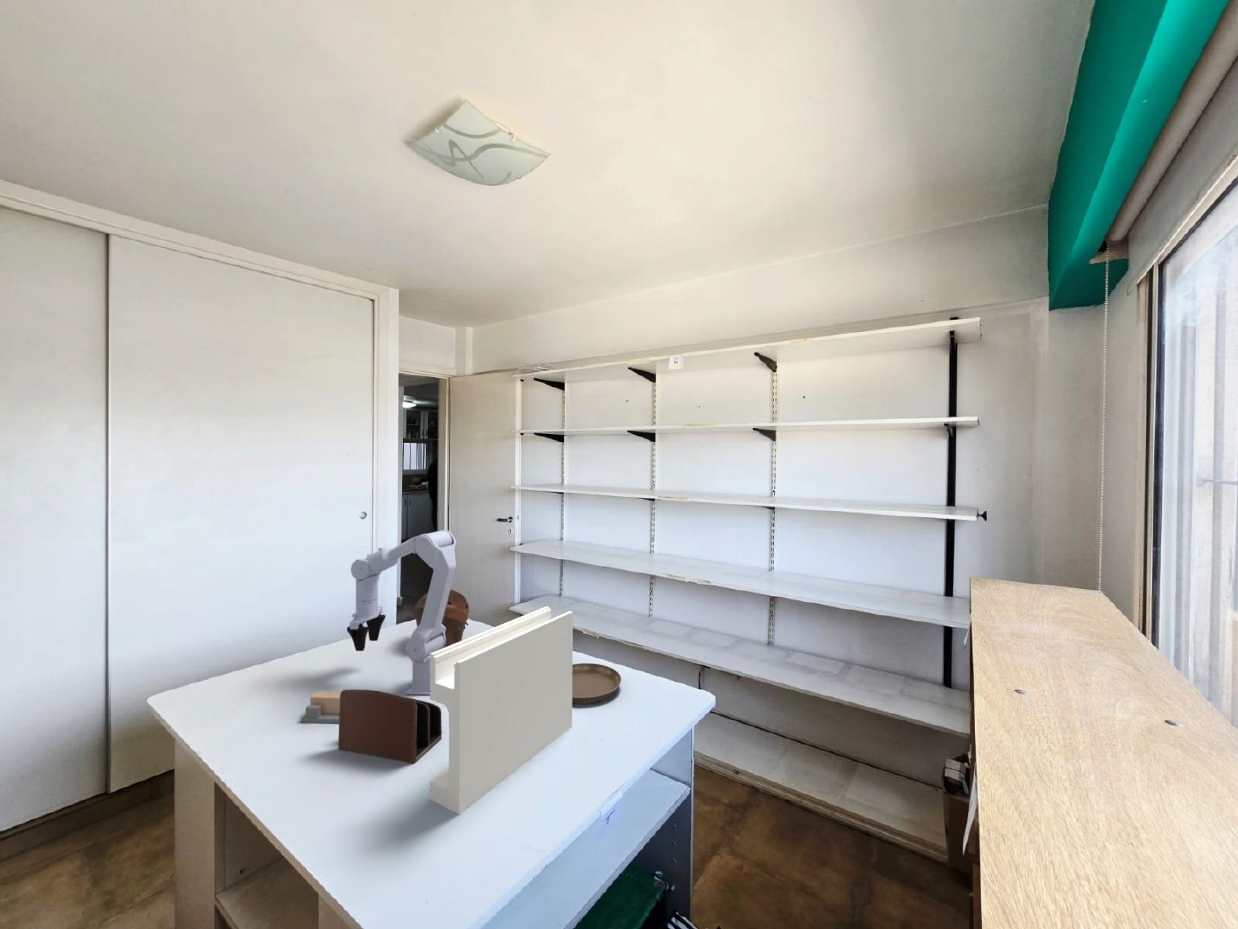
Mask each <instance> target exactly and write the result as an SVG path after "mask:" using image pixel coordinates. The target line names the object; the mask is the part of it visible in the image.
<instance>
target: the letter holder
mask: <svg viewBox="0 0 1238 929" xmlns="http://www.w3.org/2000/svg"><path fill="white" fill-rule="evenodd" d="M340 692H341V694H340V711H339V723H338V740H337V742H338V743H337V746H338V748H337V749H338V750H341V751H342V750H343V751H348V752H353V753H359V754H363V755H368V756H374V757H379V758H384V759H389V760H394V761H399V762H405V763H410V764H412V765H414V764H416V763H417V762H418V761H419V760H420V759H422V757H424V756H425V755H426V754H427V753H428V752H429V751H430V750H432V748H433V747H435V746H436V745H437V744H438V743H439V742H440V741H441V740H442V739H443V738H442V733H443V730H442V727H443V726H442V710H441V709H442V708H440V706H438V705H436V704H434V703H433V702H432V703H431V702H428V701H425V700H420V699H416V698H412V697H411V698H410V697H404V696H401V695H398V694H394V693H390V692H385V691H381V690H380V691H379V690H373V689H355V688H354V689H342V691H340Z"/></svg>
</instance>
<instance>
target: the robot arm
mask: <svg viewBox="0 0 1238 929" xmlns="http://www.w3.org/2000/svg"><path fill="white" fill-rule="evenodd" d="M457 543H458V542H457V540H456V539H455V536H454V535H453V534H452V532H451V531H449V530H447V529H441V530H438V531H434V532H429V533H422V534H420V535H416V536H413V537H411V538H409V539H407V540H406V541H404V542H402V543H401V544H399V545H397V546H395V547H389V546H381V547H379V548H378V551H376V552H374V553H369V554H367V555H366V557H365V558H359V559H358V558H357V559H355V561H353V562H352V564H351V567H350V572H351V575H352V577H353V578H354V579H355V612H354V613H353V614H352V616H351V617H352V620H351V621H350V622H349V626H347V627H346V632H347V633H348V634H349V636H350V637H351V640H352V642H353V645H354V648H355V649H354V650H355V652H363V651H365V648H366V640H367V634H368V640H369V641H370V642H377V641H378V640H379V636H380V632H381V628H382V625H383V623H384V621H385V619H386V614H383V612H384V611H383V606H379V602H378V601H379V599H378V598H379V597H378V596H379V594H378V592H379V591H378V589H379V587H378V586H379V585H378V582H379V581H380V575H381V574H382V572H384V571H386V570H388V569H390V568H392V567H394V566H396V565H398V564H397V563H398V562H399V559H401V558H402V557H406V556H408V555H410V554H412V553H413V554H414V555H415V554H416V555H418V557H419V558H420V559H421V560H423V561H424V562H425V563H426V564H427V566H429V567H430V568H432V570H433V572H432V576H431V579H430V580H431V581H430V584H429V589H428V592H427V593H428V595H427V599H426V603H425V607H424V611H423V615H422V619H421V623H420V624H419V626H418V627H417V626H416V628H415V629H414V630H413V631H412V634H411V637H410V639H409V640H408V641H407V642H406V646H405V651H406V654H407V657H408V658H409V659H410V661H411V662H412V667H411V668H412V678H411V679H412V681H411V682H412V686H411V687H410V688H409V689H407V691H406V692H405V693H406V695H424V696H425V695H426V696H428V695H429V696H430V693H431V691H430V678H431V676H430V663H431V660H430V653H433V652H435V651H438V650H440V649H442V648H443V647H444V645H445V643H446V638H445V631H446V628H445V626H444V625H442V620H443V616H444V612H445V608H446V604H447V600H448V596H449V592H450V590H452V589H451V587H452V584H453V580H454V576H455V572H456V567H457V562H456V551H455V550H456V546H457ZM365 623H366V626H364V624H365Z"/></svg>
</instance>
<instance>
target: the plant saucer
mask: <svg viewBox="0 0 1238 929" xmlns="http://www.w3.org/2000/svg"><path fill="white" fill-rule="evenodd" d="M621 683H622V677H621V674H620V673H619V671H617V670H616V669H614V668H612V667H609V666H607V665H604V664H600V663H588V662H587V663H586V662H583V663H574V664H573V663H572V704H578V705H579V704H581V705H582V704H592V703H593V704H594V703H597V702H601V701H604V700H606V699H608V698H609V697H611V695H613V694H614V693H615V692H616V690H617V689H619V686H620V685H621Z"/></svg>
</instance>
